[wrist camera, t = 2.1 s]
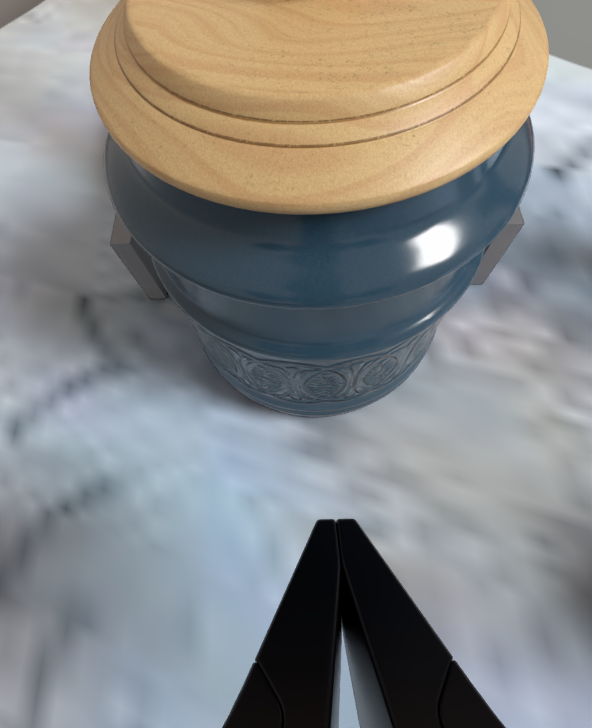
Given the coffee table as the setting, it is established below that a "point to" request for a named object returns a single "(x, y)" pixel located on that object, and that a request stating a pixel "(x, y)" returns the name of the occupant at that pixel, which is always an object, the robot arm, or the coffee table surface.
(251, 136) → the canister
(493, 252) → the corral
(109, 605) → the coffee table surface
